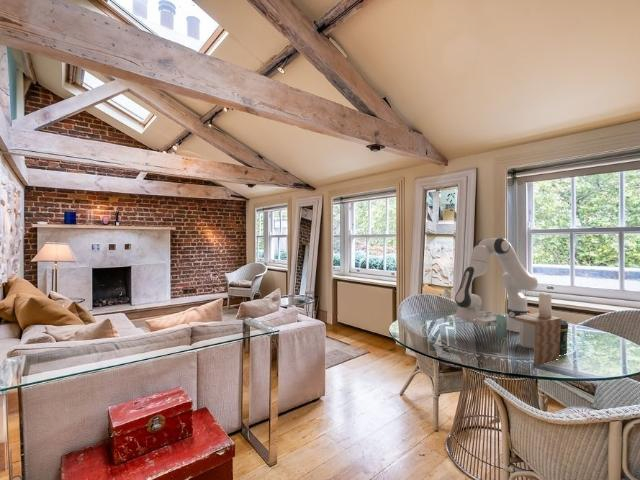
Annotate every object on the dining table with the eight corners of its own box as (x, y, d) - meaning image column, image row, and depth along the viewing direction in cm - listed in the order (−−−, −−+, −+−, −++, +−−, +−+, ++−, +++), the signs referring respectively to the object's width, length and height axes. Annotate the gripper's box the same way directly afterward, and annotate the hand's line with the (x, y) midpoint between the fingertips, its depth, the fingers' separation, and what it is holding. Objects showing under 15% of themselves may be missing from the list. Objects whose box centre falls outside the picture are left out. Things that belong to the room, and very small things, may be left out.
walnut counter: (535, 351, 178) (536, 312, 177) (559, 359, 167) (560, 318, 166) (513, 357, 169) (514, 316, 168) (536, 366, 158) (538, 322, 157)
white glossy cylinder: (541, 314, 172) (541, 292, 172) (553, 316, 168) (553, 294, 167) (537, 316, 169) (536, 293, 169) (548, 318, 165) (548, 295, 165)
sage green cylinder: (499, 333, 186) (500, 313, 186) (508, 336, 182) (509, 315, 181) (493, 334, 184) (494, 314, 184) (502, 337, 179) (503, 316, 179)
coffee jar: (561, 357, 169) (562, 323, 168) (544, 352, 176) (546, 319, 175) (569, 354, 174) (571, 321, 174) (552, 349, 181) (554, 317, 180)
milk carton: (532, 344, 188) (534, 313, 188) (536, 348, 182) (537, 316, 181) (519, 343, 191) (520, 311, 190) (522, 347, 184) (523, 314, 183)
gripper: (469, 314, 189) (491, 321, 177) (492, 312, 199) (514, 317, 186) (469, 325, 190) (490, 332, 177) (491, 321, 199) (513, 328, 186)
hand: (502, 324), depth 182 cm, fingers closed on sage green cylinder, 5 cm apart
